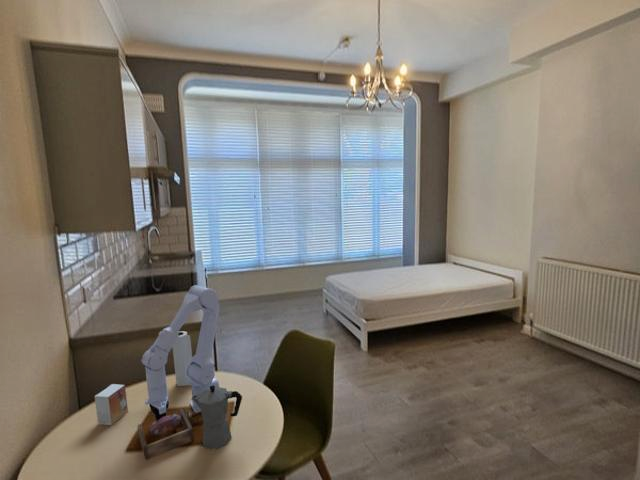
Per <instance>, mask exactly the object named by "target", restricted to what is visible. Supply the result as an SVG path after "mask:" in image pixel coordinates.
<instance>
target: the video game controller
mask: <svg viewBox="0 0 640 480" xmlns="http://www.w3.org/2000/svg"><path fill="white" fill-rule="evenodd" d="M180 423H182V422H181V417H180V414H177V413H173V414H170V415H166V416H164V417H162V418H160V419H159V420H158V421H157V420H156V421H153V422H152V423H151V424H150V425H149V427H148V428H147V434H148V436H150V437H151V436H154V435H156V436H161V435H163V434H164V433H165V429H164V428H165V427H166V430H167V432H170V430H171V431H172V430H174V429H175V427H176V426H178V425H179V424H180Z"/></svg>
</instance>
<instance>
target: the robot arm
mask: <svg viewBox="0 0 640 480" xmlns="http://www.w3.org/2000/svg"><path fill="white" fill-rule="evenodd" d="M220 309H221V308H220V303H219V294H218V293H217V292H216V291H215V290H214V288H210V287H209V288H208V287H204V286H201V285H199V284H194V285H192V286H191V287H190V288H189V290H188V292H187V293H186V294H185V295H184V299H183V302H182V304H181V305H180V307H179V309H178V311H177V312H176V314H175V316H174V318H173V320H172V321H171V323H170V324H169V326H167V327H165V328H163V329H162V330H160V331H159V333H158V334H157V335H158V336H157V338H156V340H155V341H154V343H153V344H152V345H150V347H149V349H148V350H145V352H144V353H143V354H142V359H140V361H141V362H140V363H141V364H142V365H144V366H145V367H144V368H145V376H146V379H145V380H146V386H147V392H148V394H147V395H148V399H145V401H144V404H145V405H148V406H149V409H150V411H151V412H152V413H153V415H154V417H155V419H156V421H158V420H159V419H160V418H162V417H164V416H167V412H168V411H167V410H168V409H169V406H170V402H169V398H170V397H169V393H168V385H167V376H166V374H167V373H166V366H165V365H166V364H167V363H168V356H169V353H170V352H171V350H172V349H173V345H174V344H175V342H176V341H177V339H178V337H179V335H178V332H180V330H181V328H182V327H183V326H184V324H185V323H186V322H187V320H188V319H189V318H190V316H191V315H192V313H194V312H196V311H201V310H202V312H203V313H202V319H201V325H200V329H199V334H198V335H199V336H198V341H197V346H196V351H195V354H194V355H192V358H191V362H190V364H189V366H188V367H187V371H186V372H187V376H188V377H190V378H191V384H190V388H191V398H192V397H193V396H195V395H197V394H200V393H202V392H203V391H204V390H207V389H210V386H212V385H214V386H215V387H220V384H219V381H218V378H217V377H216V375H215V373H216V372H215V369H214V367H215V362H214V361H213V357H212V353H213V347H214V343H215V337H216V332H217V326H218V320H219V316H220ZM189 404H190V406H191V408H192V409H193V410H192V411H193V413H195V414H199V413H201V409H200V407H199V406H198V405H197V404H196V403H195V402H194V400H191V401H189Z"/></svg>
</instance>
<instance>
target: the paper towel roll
mask: <svg viewBox="0 0 640 480" xmlns="http://www.w3.org/2000/svg"><path fill="white" fill-rule="evenodd" d="M178 335H179V337H178V339H177V341H176V342H175V344H174V345H173V347H172V353H173V354H172V355H173V356H172V357H173V364H174V373H175V374H174V375H175V381H176V382H175V383H176V385H177V386H178V387H185V386H186V387H187V386H191V378H190V377H188V376H187V372H186V371H187V367H188V366H189V364H190V362H191V358H192V357H193V352H192V341H191V335H190V334H189V335H188V331H182V330H181V331H180V330H179V331H178Z"/></svg>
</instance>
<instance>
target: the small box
mask: <svg viewBox="0 0 640 480" xmlns="http://www.w3.org/2000/svg"><path fill="white" fill-rule="evenodd" d="M94 404H95V410H96V417H97V424H98V425H102V426H103V425H106V426H113V425H114V424H115V423H116V422H118V421H119V419H121V418H122V417H124V416H125V415H126V414H127V413H128V412H129V408H128V400H127V391H126V385H125V384H116V383H111V384H109V386H107V387H106V388H105V389H103V390H101V391H100V392H99V393H97V394H96V395H94Z"/></svg>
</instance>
